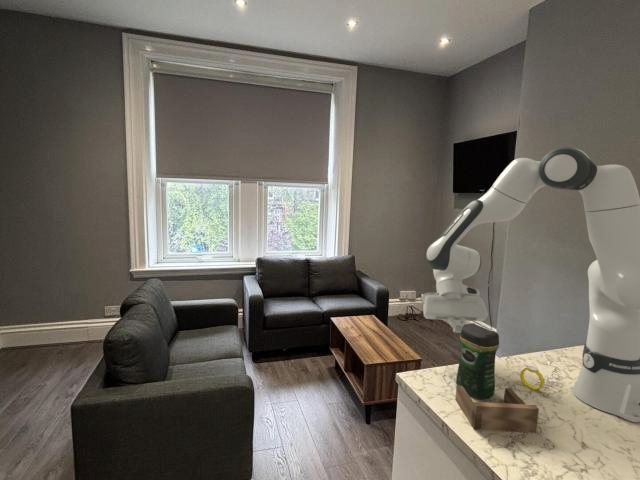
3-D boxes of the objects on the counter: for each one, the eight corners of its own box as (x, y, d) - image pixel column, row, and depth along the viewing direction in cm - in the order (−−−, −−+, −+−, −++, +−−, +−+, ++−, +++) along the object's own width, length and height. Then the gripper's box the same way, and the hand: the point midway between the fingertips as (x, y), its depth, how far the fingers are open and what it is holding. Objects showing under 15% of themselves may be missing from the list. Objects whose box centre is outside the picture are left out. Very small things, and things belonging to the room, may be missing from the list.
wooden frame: (509, 402, 90) (511, 381, 90) (536, 432, 79) (539, 408, 78) (455, 399, 91) (457, 378, 90) (473, 429, 79) (476, 405, 78)
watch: (518, 384, 100) (518, 364, 99) (523, 382, 101) (524, 362, 101) (539, 393, 95) (540, 373, 94) (545, 391, 96) (546, 370, 96)
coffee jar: (499, 396, 93) (506, 331, 90) (479, 403, 89) (485, 336, 87) (470, 378, 102) (475, 319, 99) (450, 384, 98) (456, 323, 96)
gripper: (422, 287, 114) (428, 326, 106) (483, 290, 114) (494, 329, 105) (418, 296, 119) (423, 334, 111) (477, 299, 119) (486, 337, 110)
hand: (458, 331), depth 108 cm, fingers closed
